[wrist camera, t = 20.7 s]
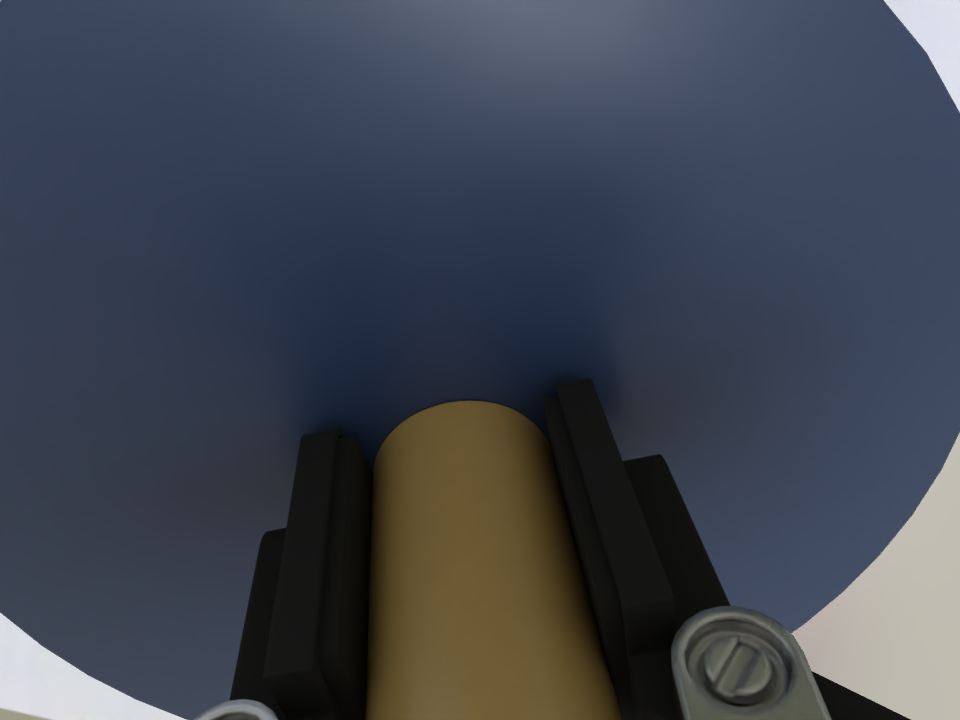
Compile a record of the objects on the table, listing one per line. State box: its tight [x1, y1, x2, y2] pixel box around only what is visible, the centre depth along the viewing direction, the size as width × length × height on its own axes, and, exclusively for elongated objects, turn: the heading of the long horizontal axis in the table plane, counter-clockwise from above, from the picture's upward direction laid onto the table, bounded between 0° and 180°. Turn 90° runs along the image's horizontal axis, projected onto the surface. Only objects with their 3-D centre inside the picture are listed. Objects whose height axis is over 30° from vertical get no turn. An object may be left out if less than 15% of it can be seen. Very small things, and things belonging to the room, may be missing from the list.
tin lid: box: [0, 0, 960, 720], centre depth 10 cm, size 16×16×6 cm
